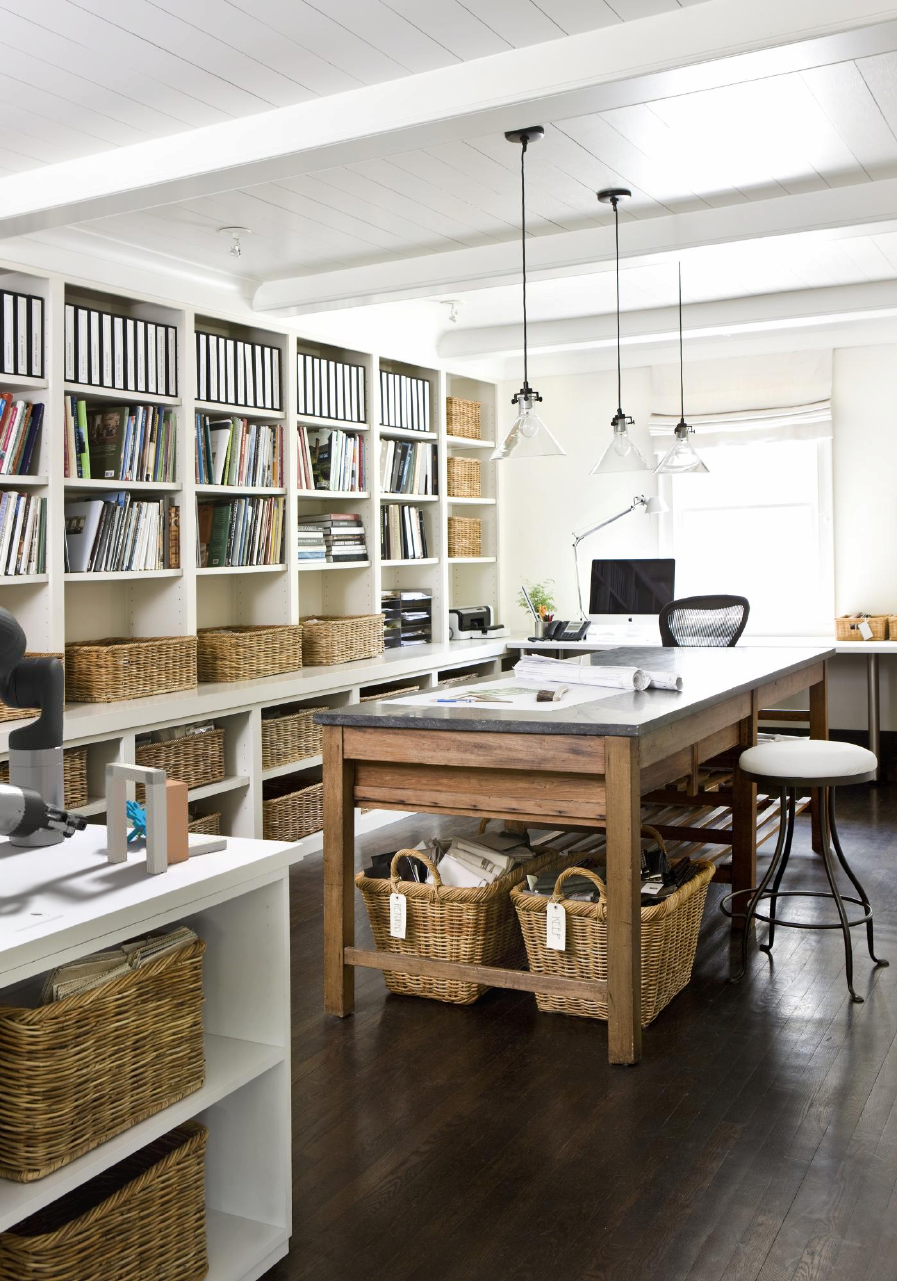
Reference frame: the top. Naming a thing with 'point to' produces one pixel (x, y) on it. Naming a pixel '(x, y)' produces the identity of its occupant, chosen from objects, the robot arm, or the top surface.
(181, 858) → the orange and grey bookend
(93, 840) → the top surface
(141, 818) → the blue branched piece
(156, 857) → the grey arch
